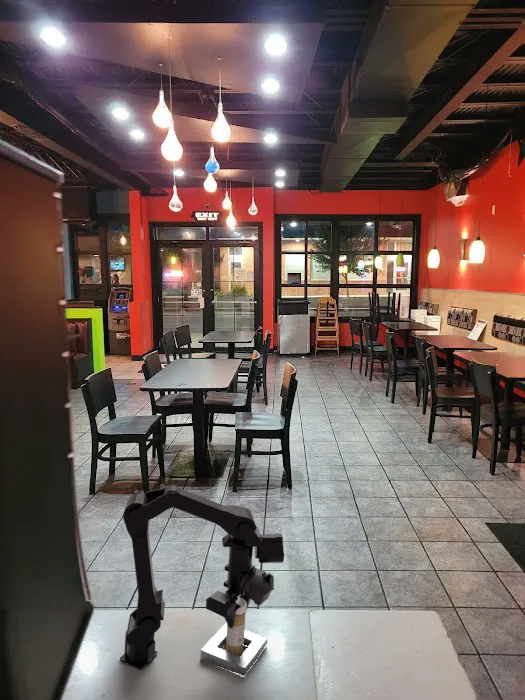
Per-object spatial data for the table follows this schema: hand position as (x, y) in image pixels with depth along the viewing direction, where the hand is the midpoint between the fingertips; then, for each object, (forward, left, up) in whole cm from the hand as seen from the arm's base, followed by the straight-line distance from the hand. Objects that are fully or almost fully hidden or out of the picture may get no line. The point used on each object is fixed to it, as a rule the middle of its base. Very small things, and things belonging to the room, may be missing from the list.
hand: (236, 622), depth 121 cm
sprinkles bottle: (0, 0, -8) cm, 8 cm away
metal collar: (0, 0, -8) cm, 8 cm away
